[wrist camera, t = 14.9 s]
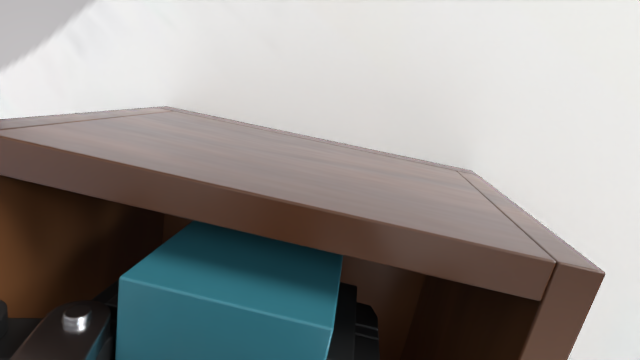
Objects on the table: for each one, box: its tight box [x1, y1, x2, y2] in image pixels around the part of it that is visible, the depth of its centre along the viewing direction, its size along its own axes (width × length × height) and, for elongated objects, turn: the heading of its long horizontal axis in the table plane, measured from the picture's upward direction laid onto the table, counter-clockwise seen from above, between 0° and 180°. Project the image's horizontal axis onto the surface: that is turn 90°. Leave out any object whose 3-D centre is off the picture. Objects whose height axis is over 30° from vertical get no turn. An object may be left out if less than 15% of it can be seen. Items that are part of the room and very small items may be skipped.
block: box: [115, 221, 343, 360], centre depth 10 cm, size 4×4×4 cm
